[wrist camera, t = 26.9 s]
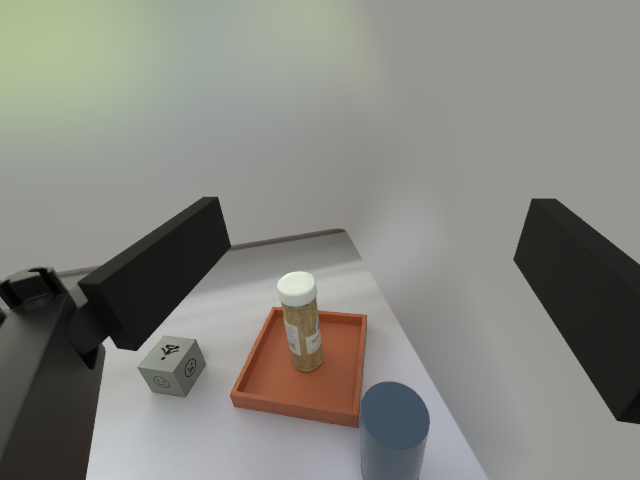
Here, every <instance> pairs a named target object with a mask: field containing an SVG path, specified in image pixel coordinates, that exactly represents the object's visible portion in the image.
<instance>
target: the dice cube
mask: <svg viewBox="0 0 640 480" xmlns="http://www.w3.org/2000/svg"><path fill="white" fill-rule="evenodd" d="M205 364H206V363H205V360H204V358H203V355H202V353H201V351H200V348H199V346H198V343H197V341H196V339H188V338H180V337H171V336H163V337H162V338H161V340H160V341H159V342H158V343H157V344H156V345H155V347H154V348H153V349H152V350H151V351H150V353H149V354H148V355H147V356H146V357H145V359H144V360H143V361H142V362H141V363H140V365H139V366H138V369H139V371H140V373H141V374H142V376H143V378H144V379H145V381H146V383H147V384H148V386H149V388H150V389H151V391H152V392H156V393H163V394H169V395H175V396H181V397H186V395H187V394H188V392H189V391H190V389H191V387H192V386H193V384H194V382H195V381H196V379H197V378H198V376H199V374H200V373H201V371H202V369H203V368H204V366H205Z"/></svg>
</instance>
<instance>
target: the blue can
mask: <svg viewBox="0 0 640 480" xmlns="http://www.w3.org/2000/svg"><path fill="white" fill-rule="evenodd" d="M429 424H430V420H429V413H428V410H427V408H426V405H425V403H424V402H423V400H422V399H421V398H420V396H419V395H418V394H417V393H416V392H415V391H413V390H412V389H411V388H409V387H407V386H405V385H403V384H400V383H397V382H382V383H378V384H376V385H374V386H373V387H371V388H370V389H369V390H368V391H367V392H366V393H365V395H364V397H363V399H362V402H361V470H362V476H363V479H364V480H419V476H420V471H421V466H422V461H423V456H424V451H425V446H426V441H427V436H428V430H429Z"/></svg>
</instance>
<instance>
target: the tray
mask: <svg viewBox="0 0 640 480" xmlns="http://www.w3.org/2000/svg"><path fill="white" fill-rule="evenodd" d="M318 316H319V324H320V333H321V345H322V351H323V354H324V358H323V361H322V363H321V365H320V366H319V367H318V368H317V369H315V370H313V371H310V372H303V371H299V370H297V369H296V368H295V367H294V366H293V364H292V360H291V356H292V355H291V350H290V347H289V343H288V338H287V332H286V327H285V322H284V314H283V309H282V307H272V309H271V312H270V314H269V316H268V318H267V320H266V322H265V324H264V326H263V328H262V330H261V332H260V334H259V336H258V338H257V340H256V342H255V344H254V346H253V348H252V350H251V352H250V354H249V356H248V358H247V360H246V363H245V365H244V367H243V369H242V371H241V373H240V375H239V377H238V379H237V381H236V383H235V385H234V387H233V389H232V391H231V393H230V397H231V400H232V402H233V405H234V406H235V407H240V408H246V409H252V410H258V411H264V412H270V413H275V414H281V415H287V416H293V417H299V418H304V419H310V420H316V421H322V422H328V423H334V424H339V425H345V426H351V427H357V428H358V421H359V410H360V398H361V387H362V375H363V364H364V352H365V341H366V329H367V315H361V314H350V313H339V312H327V311H318Z"/></svg>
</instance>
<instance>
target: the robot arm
mask: <svg viewBox="0 0 640 480" xmlns="http://www.w3.org/2000/svg"><path fill="white" fill-rule="evenodd" d="M230 247H231V244H230V241H229V237H228V233H227V229H226V225H225V222H224V218H223V214H222V211H221V207H220V203H219V199H218V197H203V198H201V199H200V200H198V201H197V202H195V203H194V204H192V205H191V206H189V207H188V208H186V209H185V210H183V211H182V212H181V213H179V214H177V215H176V216H174V217H173V218H172V219H170V220H169V221H167V222H166V223H164V224H163V225H161V226H160V227H158V228H157V229H155V230H154V231H152V232H151V233H150V234H148V235H146V236H145V237H144V238H142V239H141V240H139V241H138V242H136V243H135V244H133V245H132V246H130V247H129V248H127V249H126V250H124V251H123V252H121V253H120V254H118V255H117V256H115V257H114V258H112V259H111V260H109V261H108V262H106V263H105V264H104V265H102V266H101V267H99V268H98V269H96V270H95V271H93V272H92V273H90V274H89V275H87V276H86V277H84V278H83V279H81V280H80V281H78V282H77V285H75V286H74V287H72V288H71V289H69V290H67V289H66V287H65V286H64V284H63V283H62V281H61V280H60V278H59V276H58V275H57V273H56V272H55V270H54V269H53V267H50V266H38V267H33V268H29V269H26V270H23V271H20V272H17V273H15V274H13V275H10V276H9V277H7V278H5V279H3V280H1V281H0V297H1V298H2V299H3V300H4V302H5V303H6V304H7V305H8V307H9V308H10V309H6V310H2V309H1V308H0V480H86V474H87V468H88V462H89V455H90V449H91V442H92V436H93V430H94V423H95V417H96V410H97V404H98V398H99V391H100V385H101V378H102V372H103V366H104V359H105V353H106V352H105V347H104V346H103V344H102V342H103V341H104V340H105V339H106V338H107V337H108V336H110V337H111V339H112V340H113V342H114V344H115V345H116V347H117V348H119V349H126V350H132V351H137V350H138V349H139V348H140V347H141V346H142V345H143V343H144V342H145V341H146V340H147V339H148V338H149V337H150V336H151V335H152V333H153V332H154V331H155V330H156V329H157V328H158V327H159V326H160V325H161V324H162V322H163V321H164V320H165V319H166V318H167V317H168V316H169V315H170V314H171V312H172V311H173V310H174V309H175V308H176V307H177V306H178V305H179V304H180V303H181V301H182V300H183V299H184V298H185V297H186V296H187V295H188V294H189V293H190V292H191V290H192V289H193V288H194V287H195V286H196V285H197V284H198V283H199V282H200V280H201V279H202V278H203V277H204V276H205V275H206V274H207V273H208V272H209V271H210V269H211V268H212V267H213V266H214V265H215V264H216V263H217V262H218V261H219V259H220V258H221V257H222V256H223V255H224V254H225V253H226V252H227V251H228V250H229V248H230ZM514 261H515V263H516V265H517V266H518V268H519V269H520V271H521V272H522V274H523V275H524V277H525V279H526V280H527V282H528V283H529V285H530V286H531V288H532V289H533V291H534V293H535V294H536V296H537V297H538V299H539V300H540V302H541V303H542V305H543V307H544V308H545V309H546V311H547V313H548V314H549V316H550V317H551V319H552V321H553V322H554V324H555V325H556V327H557V328H558V330H559V331H560V333H561V334H562V336H563V338H564V339H565V341H566V342H567V344H568V345H569V347H570V348H571V350H572V352H573V353H574V355H575V356H576V358H577V359H578V361H579V363H580V364H581V366H582V367H583V369H584V370H585V372H586V373H587V375H588V376H589V378H590V380H591V381H592V383H593V384H594V386H595V387H596V389H597V391H598V392H599V394H600V395H601V397H602V398H603V400H604V401H605V403H606V405H607V406H608V408H609V409H610V411H611V412H612V414H613V415H614V417H615V419H616V420H617V421H621V422H628V423H635V424H640V265H639V264H638V263H637V262H636V261H634V260H633V259H632V258H630V257H629V256H628V255H627V254H625V253H624V252H623V251H621V250H620V249H619V248H617V247H616V246H615V245H614V244H613V243H611V242H610V241H609V240H608V239H606V238H605V237H604V236H602V235H601V234H600V233H599V232H597V231H596V230H595V229H594V228H592V227H591V226H590V225H588V224H587V223H586V222H585V221H583V220H582V219H581V218H579V217H578V216H577V215H576V214H574V213H573V212H572V211H571V210H569V209H568V208H567V207H565V206H564V205H563V204H562V203H560V202H559V201H558V200H557V199H532V200H531V204H530V207H529V210H528V213H527V217H526V220H525V223H524V227H523V230H522V233H521V237H520V240H519V243H518V247H517V250H516V253H515V256H514Z"/></svg>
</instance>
